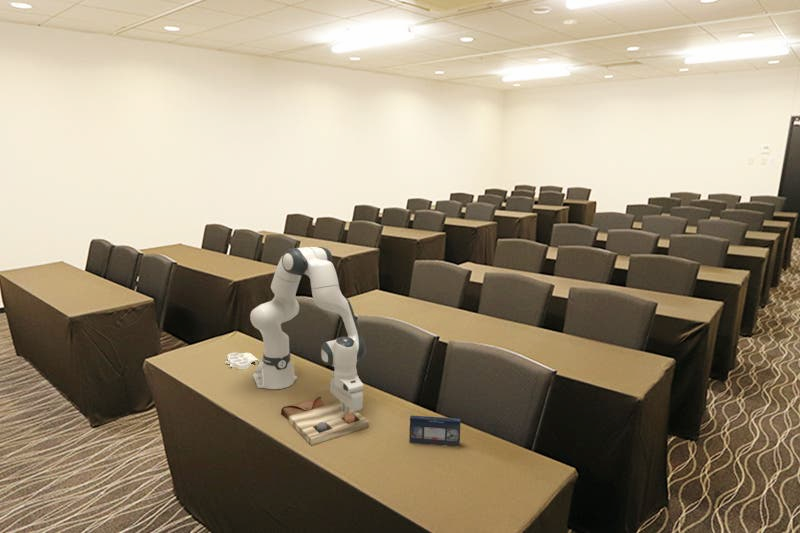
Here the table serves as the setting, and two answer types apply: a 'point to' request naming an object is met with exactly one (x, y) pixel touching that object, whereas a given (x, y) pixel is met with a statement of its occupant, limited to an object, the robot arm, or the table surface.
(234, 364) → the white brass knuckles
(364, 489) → the table surface
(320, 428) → the charcoal ball
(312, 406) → the sunglasses case
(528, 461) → the table surface
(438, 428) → the vhs cassette tape
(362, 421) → the hole board
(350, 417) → the terracotta ball
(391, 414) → the table surface
